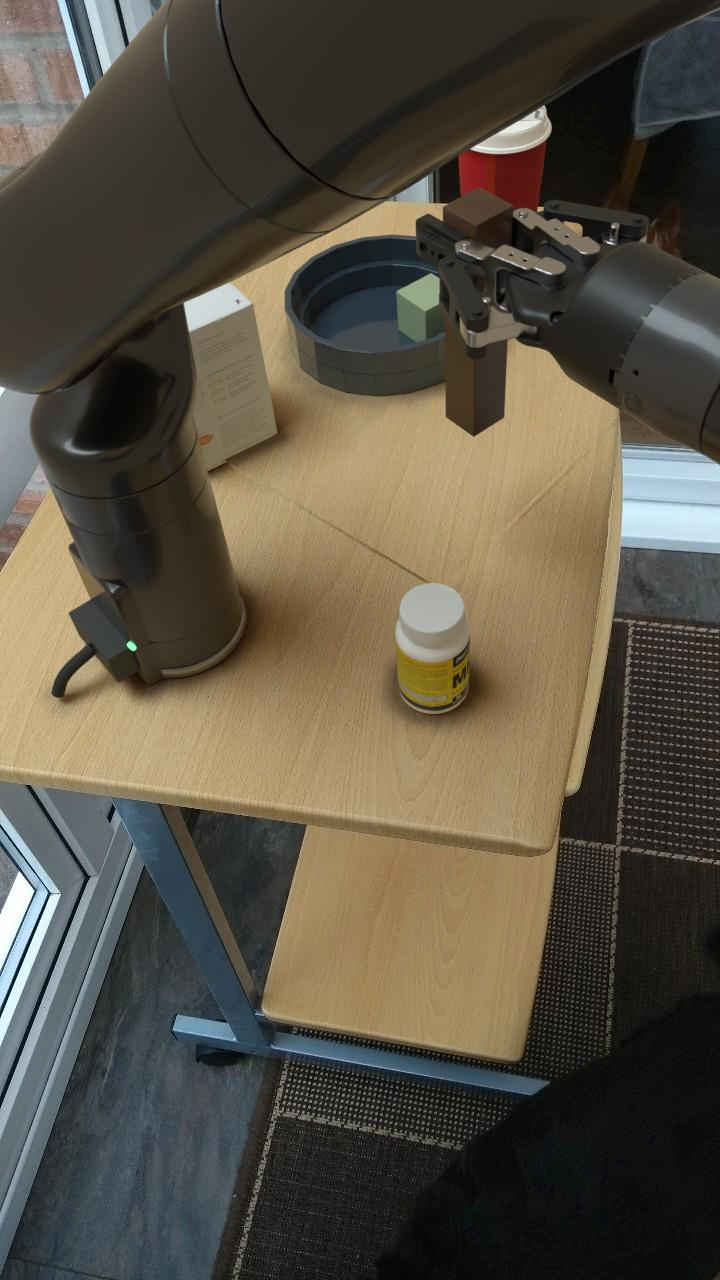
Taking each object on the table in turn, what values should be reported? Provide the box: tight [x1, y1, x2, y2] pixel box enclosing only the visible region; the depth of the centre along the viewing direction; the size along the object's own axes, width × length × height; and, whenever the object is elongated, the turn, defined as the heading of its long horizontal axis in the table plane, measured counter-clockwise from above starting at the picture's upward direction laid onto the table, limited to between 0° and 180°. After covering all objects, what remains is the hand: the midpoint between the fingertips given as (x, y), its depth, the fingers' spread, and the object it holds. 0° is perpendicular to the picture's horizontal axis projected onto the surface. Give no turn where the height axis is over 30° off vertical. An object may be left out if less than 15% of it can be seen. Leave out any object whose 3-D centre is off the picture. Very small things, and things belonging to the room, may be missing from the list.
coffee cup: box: [458, 105, 553, 213], centre depth 91 cm, size 8×8×15 cm
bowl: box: [284, 234, 445, 397], centre depth 90 cm, size 17×17×5 cm
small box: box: [184, 282, 278, 472], centre depth 80 cm, size 8×6×13 cm
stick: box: [442, 188, 513, 438], centre depth 62 cm, size 3×3×15 cm
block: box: [396, 273, 445, 342], centre depth 90 cm, size 4×4×4 cm
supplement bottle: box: [394, 582, 471, 715], centre depth 65 cm, size 5×5×8 cm
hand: (443, 220), depth 59 cm, fingers closed on stick, 3 cm apart
